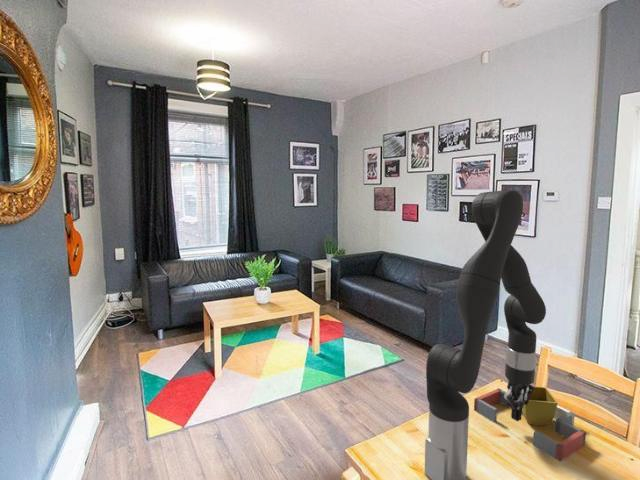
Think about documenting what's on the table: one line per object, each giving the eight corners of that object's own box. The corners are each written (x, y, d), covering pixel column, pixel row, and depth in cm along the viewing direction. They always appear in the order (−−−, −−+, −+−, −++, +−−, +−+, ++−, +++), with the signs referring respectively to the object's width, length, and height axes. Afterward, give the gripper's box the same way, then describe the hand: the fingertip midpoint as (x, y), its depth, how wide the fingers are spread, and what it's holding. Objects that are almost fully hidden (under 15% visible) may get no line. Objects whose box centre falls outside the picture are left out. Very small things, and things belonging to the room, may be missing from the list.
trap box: (596, 437, 104) (597, 424, 104) (560, 461, 95) (561, 447, 94) (510, 393, 127) (510, 383, 127) (474, 410, 118) (474, 398, 117)
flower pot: (556, 431, 107) (558, 402, 106) (524, 427, 109) (525, 399, 108) (544, 413, 116) (546, 387, 114) (514, 410, 117) (516, 384, 116)
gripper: (519, 374, 99) (514, 433, 101) (546, 363, 105) (541, 419, 107) (494, 363, 105) (490, 419, 107) (521, 353, 111) (517, 406, 114)
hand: (516, 419), depth 107 cm, fingers closed
